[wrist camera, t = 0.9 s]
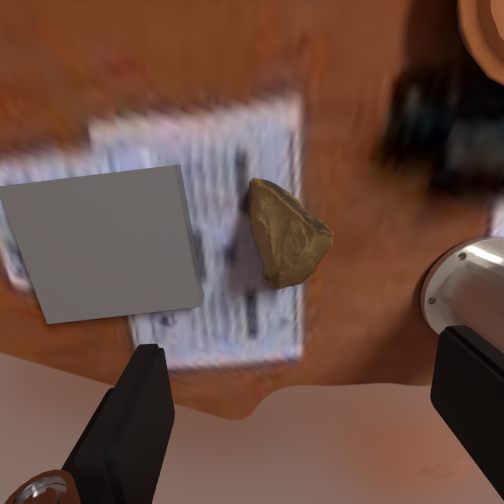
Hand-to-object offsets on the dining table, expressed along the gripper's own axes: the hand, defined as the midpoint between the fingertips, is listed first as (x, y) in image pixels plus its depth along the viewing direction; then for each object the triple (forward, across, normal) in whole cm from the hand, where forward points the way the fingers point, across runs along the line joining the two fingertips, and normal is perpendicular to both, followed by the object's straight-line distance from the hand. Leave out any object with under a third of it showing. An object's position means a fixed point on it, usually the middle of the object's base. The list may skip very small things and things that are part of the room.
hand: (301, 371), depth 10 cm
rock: (+22, -1, +1) cm, 22 cm away
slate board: (+22, +15, +1) cm, 27 cm away
